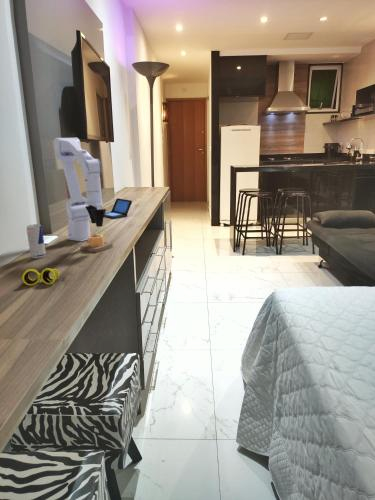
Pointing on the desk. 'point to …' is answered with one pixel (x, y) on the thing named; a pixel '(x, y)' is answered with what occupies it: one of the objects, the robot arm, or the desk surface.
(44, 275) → the opera glasses
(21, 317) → the desk surface
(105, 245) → the post stand
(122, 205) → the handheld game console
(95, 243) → the ring
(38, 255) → the energy drink
